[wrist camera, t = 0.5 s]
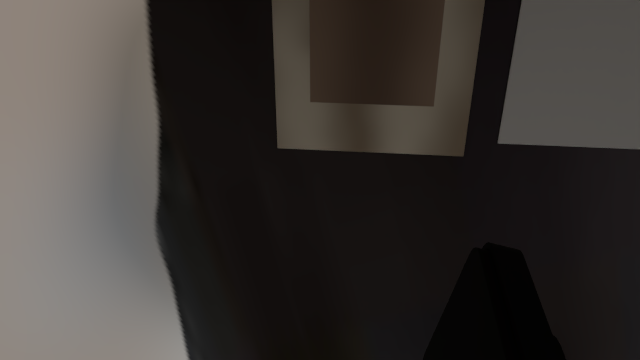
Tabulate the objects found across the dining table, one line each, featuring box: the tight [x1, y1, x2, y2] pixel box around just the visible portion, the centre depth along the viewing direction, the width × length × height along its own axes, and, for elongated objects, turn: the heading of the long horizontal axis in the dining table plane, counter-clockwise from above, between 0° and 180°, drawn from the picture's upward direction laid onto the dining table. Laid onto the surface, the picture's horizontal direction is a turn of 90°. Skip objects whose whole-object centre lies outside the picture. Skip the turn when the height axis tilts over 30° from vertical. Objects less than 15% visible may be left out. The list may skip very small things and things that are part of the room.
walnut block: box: [309, 0, 445, 107], centre depth 29 cm, size 6×6×7 cm
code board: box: [272, 0, 485, 156], centre depth 32 cm, size 12×18×1 cm, turn 0°
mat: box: [497, 0, 640, 149], centre depth 31 cm, size 10×14×1 cm
